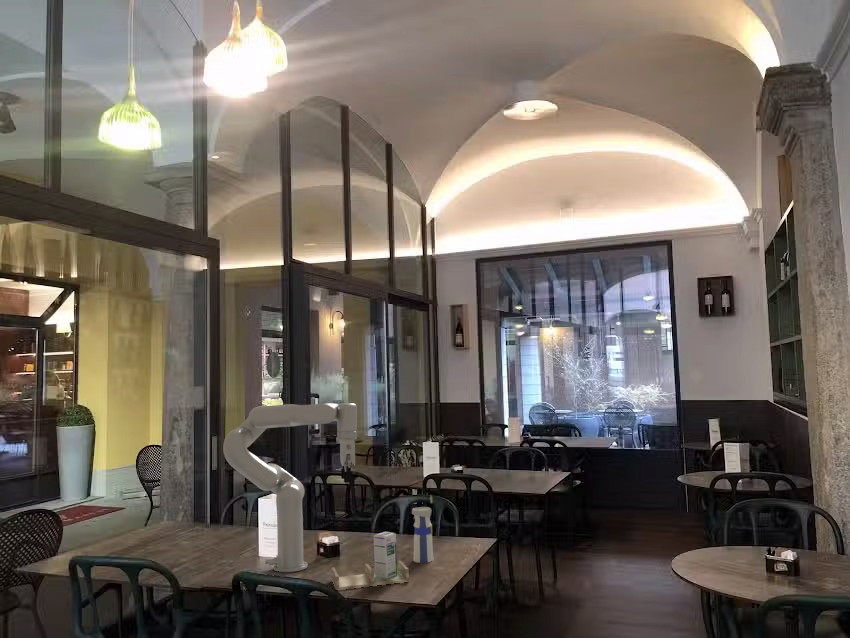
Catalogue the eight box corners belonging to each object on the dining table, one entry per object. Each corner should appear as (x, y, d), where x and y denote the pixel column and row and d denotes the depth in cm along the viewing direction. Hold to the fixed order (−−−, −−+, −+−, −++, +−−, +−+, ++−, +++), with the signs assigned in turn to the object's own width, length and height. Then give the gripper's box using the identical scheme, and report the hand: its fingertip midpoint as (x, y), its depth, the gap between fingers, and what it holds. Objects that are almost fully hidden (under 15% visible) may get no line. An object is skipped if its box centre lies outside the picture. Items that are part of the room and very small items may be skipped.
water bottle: (434, 556, 264) (432, 491, 266) (435, 562, 256) (433, 495, 258) (413, 557, 264) (411, 492, 266) (413, 563, 255) (411, 496, 257)
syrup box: (387, 579, 232) (385, 536, 233) (374, 576, 235) (373, 534, 237) (397, 575, 236) (396, 532, 237) (385, 572, 240) (384, 531, 241)
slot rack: (336, 590, 225) (336, 576, 225) (331, 580, 236) (331, 567, 237) (408, 582, 231) (408, 568, 232) (400, 573, 243) (400, 560, 243)
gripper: (359, 436, 252) (359, 483, 251) (354, 433, 269) (353, 476, 268) (339, 437, 251) (339, 484, 249) (335, 433, 268) (334, 477, 266)
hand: (346, 480), depth 258 cm, fingers open, 9 cm apart
